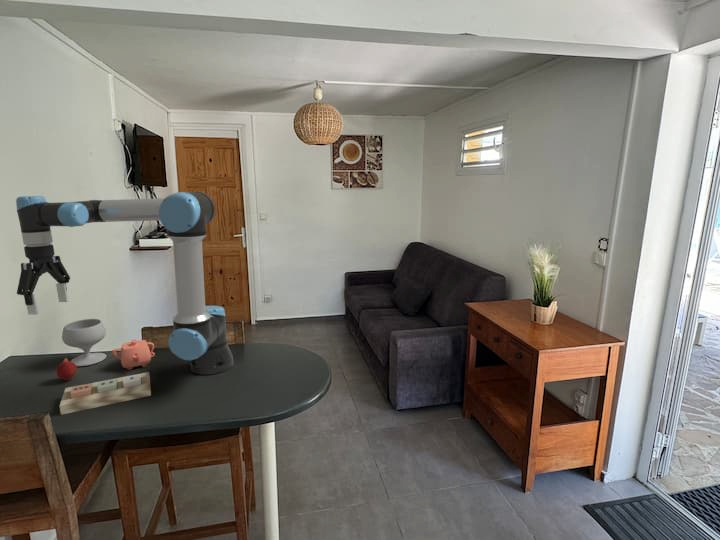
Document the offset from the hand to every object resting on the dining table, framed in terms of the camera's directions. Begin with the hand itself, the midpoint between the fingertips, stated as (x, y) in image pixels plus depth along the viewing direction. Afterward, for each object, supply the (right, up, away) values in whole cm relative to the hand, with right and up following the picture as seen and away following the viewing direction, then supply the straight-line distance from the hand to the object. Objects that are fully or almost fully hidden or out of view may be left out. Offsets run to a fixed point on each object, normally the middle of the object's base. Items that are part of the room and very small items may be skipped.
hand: (49, 307), depth 137 cm
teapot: (+19, -24, +18) cm, 35 cm away
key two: (+22, -27, -4) cm, 35 cm away
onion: (+2, -26, +7) cm, 27 cm away
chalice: (-2, -23, +22) cm, 32 cm away
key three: (+16, -28, -7) cm, 33 cm away
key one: (+28, -26, -1) cm, 39 cm away
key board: (+22, -28, -4) cm, 36 cm away
